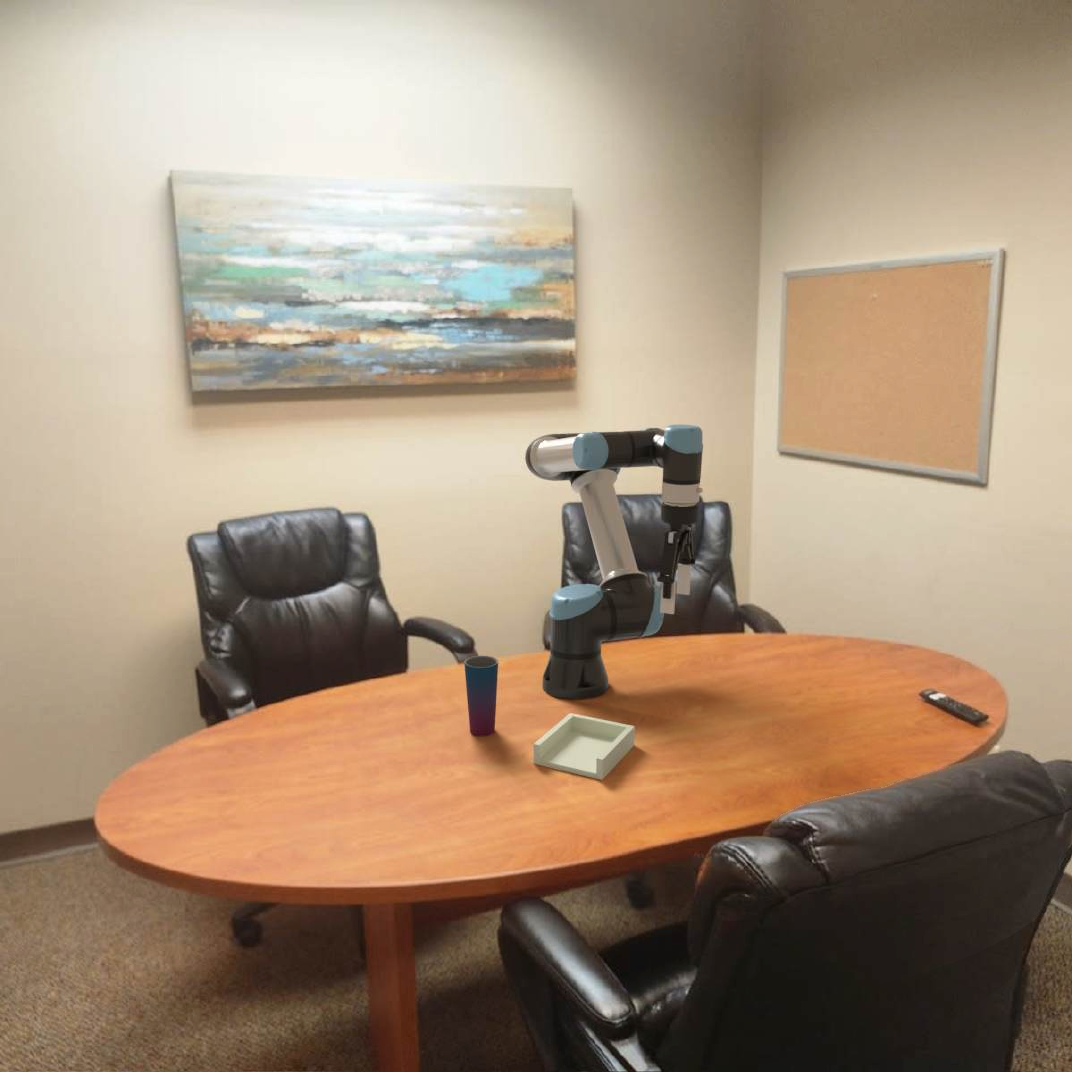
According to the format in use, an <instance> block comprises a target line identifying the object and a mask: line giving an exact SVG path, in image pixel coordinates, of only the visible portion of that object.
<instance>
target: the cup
mask: <svg viewBox="0 0 1072 1072" xmlns="http://www.w3.org/2000/svg"><path fill="white" fill-rule="evenodd" d="M463 663H464V674H465V675H464V677H465V686H466V699H467V708H468V709H467V711H468V720H469V723H468V725H469V732H470V734H471V735H473V736H477V737H488V736H491V735H492V734H494V733H495V732H496V731H495V726H496V715H497V714H496V713H497V712H496V711H497V709H496V708H497V707H496V706H497V694H498V693H497V692H498V691H497V689H498V675H499V674H498V673H499V671H498V670H499V659H498V658H496V657H494V656H489V655H474V656H470V657H467V658H466V659H465V660H464V662H463Z"/></svg>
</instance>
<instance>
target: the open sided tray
mask: <svg viewBox="0 0 1072 1072" xmlns="http://www.w3.org/2000/svg"><path fill="white" fill-rule="evenodd" d="M635 729H636V727H635V726H634V725H631V724H625V723H620V722H616V721H611V720H606V719H601V718H596V717H591V716H587V715H582V714H577V713H572V712H570V713H568V714H567V715H566V716H565V717H563V718H562V719H561V720H560V721H559V722H557V723H556V724H555V725H554V726H553V727H552V728H550V730H548V731H547V732H546V733H545V734H544V735H543V736H541V737H540V738H538V740H536V742H534V743H533V764H534V765H537V766H543V767H546V768H549V769H550V768H551V769H554V770H559V771H561V772H562V771H564V772H567V773H571V774H575V775H579V776H584V777H588V778H592V779H597V780H600V781H603V780H604V779H605V777H606V776H607V775H609V773H610V772H611V771H612V770H614V768H615V767H616V766H617V765H618V763H620V761H621V760H622V759H623V758H624V757H625V756H626V755H627V754H628V752H630V750H631V749H633V747H635V737H636V736H635V733H636V732H635V731H636V730H635Z"/></svg>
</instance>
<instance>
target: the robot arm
mask: <svg viewBox="0 0 1072 1072" xmlns="http://www.w3.org/2000/svg"><path fill="white" fill-rule="evenodd" d="M703 449H704V442H703V430H702V428H701V427H700V426H697V425H691V424H670V425H668V426H666V427H665V429H661V428H660V427H659V428H658V427H645V428H643V429H641V430H626V431H624V430H623V431H599V432H598V431H587V432H575V433H573V432H572V433H550V434H544V435H542V436H539V437H537V438H535V439H533V440H532V441H531V443H529V445H528V446H527V448H526V451H525V457H524V458H525V459H524V460H525V464H526V467H527V468H528V470H529V471H530V472H531V474H533V476H535V477H537V478H539V479H542V480H546V481H553V482H555V481H556V482H559V481H561V482H562V481H569V483H570V486H571V489H572V491H573V492H574V493H577V494H579V496H580V499H581V504H582V507H583V510H584V514H585V518H586V522H587V526H588V529H589V533H590V535H591V536H590V537H591V539H592V544H593V548H594V550H595V551H594V552H595V556H596V559H597V562H598V566H599V571H600V573H601V577H602V581H601V583H600V584H599V585H597V584H593V583H592V584H591V583H586V584H583V583H576V584H571V585H566V586H563V587H561V588H560V589H557V590H556V591H555V592H554V593H553V594H552V596H551V598H550V607H549V608H550V610H549V613H548V614H549V622H550V623H549V626H550V627H549V629H550V630H549V631H550V632H549V633H550V634H549V636H550V638H549V641H550V643H549V646H550V647H549V651H550V652H549V653H550V655H549V658H548V661H547V663H546V666H545V668H544V672H543V676H542V689H543V691H544V692H546V693H547V694H548V695H550V696H554V697H557V698H559V699H566V700H567V699H569V700H587V699H593V698H596V697H599V696H602V695H604V694H605V693H607V692H608V690H609V677H608V673H607V669H606V667H605V663H604V661H603V660H604V659H603V657H602V642H610V641H611V642H612V641H619V640H626V639H627V640H628V639H634V638H636V639H640V638H641V639H642V638H643V637H648V636H652V635H654V634H656V633H657V632H658V631H659V630H660V628H661V627H662V625H663V622H664V617H665V614H670V615H674V614H675V609H676V607H675V604H676V594H678V595H683V596H684V595H685V596H689V595H691V593H690V592H691V574H692V565H695V564H696V558H695V555H694V554H695V553H694V552H695V551H694V536H693V525H694V524H697V523H698V521H699V517H700V516H699V513H700V505H699V504H698V503H699V502H700V493H703V491H704V490H703V488H702V487H700V486H701V478H702V477H701V476H702V465H703V463H702V462H703V451H704V450H703ZM644 467H645V468H646V467H647V468H648V467H657V468H661V469H662V482H661V483H662V485H661V486H662V487H661V501H663V502H662V503H661V506H660V520H661V521H662V522H663V523H665V524H668V525H669V530H667V531H665V533H664V543H663V550H662V556H661V562H660V570H659V575H658V576H657V579H656V580H657V582H660V585H661V586H660V587H661V588H659V586H658V585H655V584H650V582H649V580H648V577H647V575H646V573H644V572H643V571H640V570H639V569H638V564H637V562H636V557H635V554H634V551H633V547H632V544H631V541H630V538H629V533H628V531H627V527H626V523H625V520H624V517H623V514H622V510H621V506H620V504H619V500H618V499H619V498H618V495H617V492H616V488H615V485H614V484H615V483H616V482H617V480H618V475H619V473H620V472H621V470H622V469H623V468H625V469H629V468H644ZM676 574H677V575H676ZM676 578H677V579H676ZM675 580H676V581H675Z"/></svg>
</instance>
